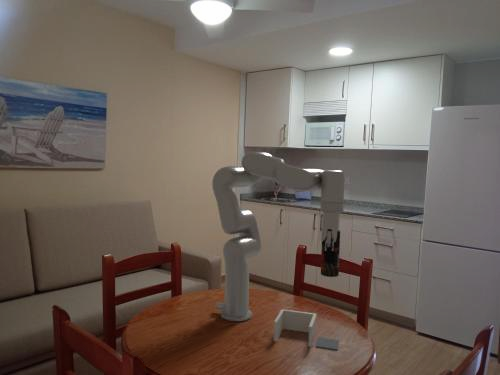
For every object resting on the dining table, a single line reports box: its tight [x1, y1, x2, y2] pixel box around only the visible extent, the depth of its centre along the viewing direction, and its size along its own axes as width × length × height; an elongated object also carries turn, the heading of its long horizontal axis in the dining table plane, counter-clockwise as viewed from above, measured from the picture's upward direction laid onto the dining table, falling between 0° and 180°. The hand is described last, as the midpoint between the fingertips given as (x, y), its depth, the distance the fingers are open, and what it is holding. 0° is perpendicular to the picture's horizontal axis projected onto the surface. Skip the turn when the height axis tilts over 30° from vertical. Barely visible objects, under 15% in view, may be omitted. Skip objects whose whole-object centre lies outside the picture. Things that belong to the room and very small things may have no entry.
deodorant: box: [320, 230, 341, 278], centre depth 132 cm, size 6×6×15 cm
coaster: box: [315, 336, 340, 351], centre depth 134 cm, size 7×7×1 cm
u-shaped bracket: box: [273, 308, 317, 348], centre depth 139 cm, size 13×12×7 cm
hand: (330, 259), depth 132 cm, fingers closed on deodorant, 5 cm apart
